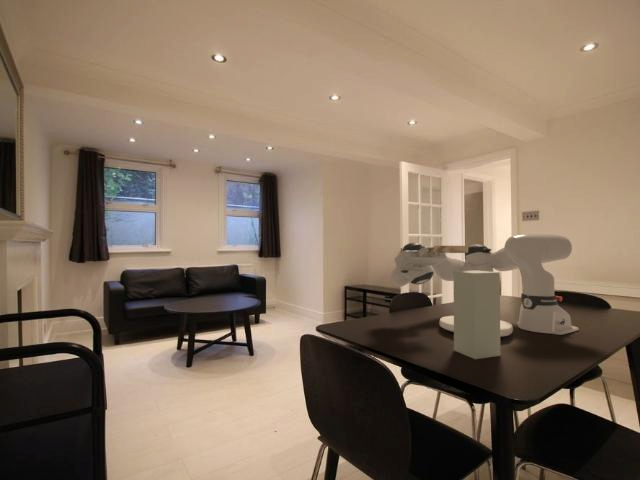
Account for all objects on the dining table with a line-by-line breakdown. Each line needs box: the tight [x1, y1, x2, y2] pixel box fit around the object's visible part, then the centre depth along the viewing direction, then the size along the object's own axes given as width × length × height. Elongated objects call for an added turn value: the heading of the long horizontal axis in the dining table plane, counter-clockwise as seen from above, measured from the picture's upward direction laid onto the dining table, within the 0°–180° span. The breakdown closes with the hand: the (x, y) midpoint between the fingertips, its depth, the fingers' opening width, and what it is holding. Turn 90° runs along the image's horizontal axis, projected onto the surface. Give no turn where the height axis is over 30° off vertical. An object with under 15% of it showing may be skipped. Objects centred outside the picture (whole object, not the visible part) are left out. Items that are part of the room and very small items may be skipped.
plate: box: [438, 315, 514, 338], centre depth 131 cm, size 28×6×27 cm
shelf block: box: [453, 270, 502, 360], centre depth 106 cm, size 10×9×26 cm
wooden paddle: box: [423, 245, 469, 254], centre depth 121 cm, size 18×7×2 cm, turn 19°
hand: (432, 248), depth 127 cm, fingers closed on wooden paddle, 2 cm apart
